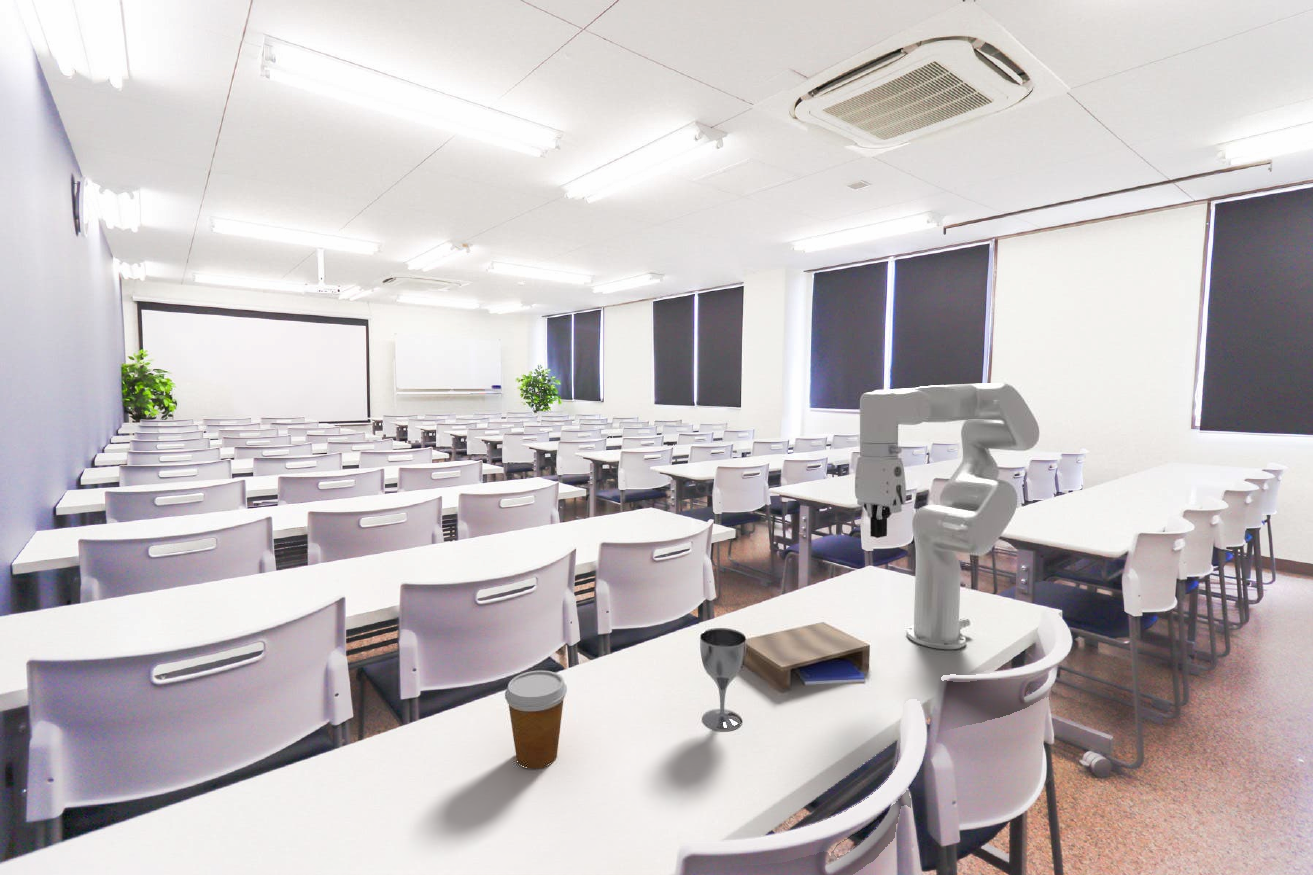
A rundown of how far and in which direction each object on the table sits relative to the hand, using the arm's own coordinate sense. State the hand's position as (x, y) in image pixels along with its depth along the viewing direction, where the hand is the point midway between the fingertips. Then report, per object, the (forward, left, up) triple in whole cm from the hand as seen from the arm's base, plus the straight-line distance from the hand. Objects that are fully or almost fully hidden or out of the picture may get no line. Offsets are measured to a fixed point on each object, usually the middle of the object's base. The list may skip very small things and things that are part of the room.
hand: (878, 536), depth 124 cm
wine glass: (+42, +5, -28) cm, 51 cm away
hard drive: (+13, 0, -28) cm, 31 cm away
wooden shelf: (+15, -5, -27) cm, 32 cm away
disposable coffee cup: (+74, +1, -28) cm, 79 cm away
